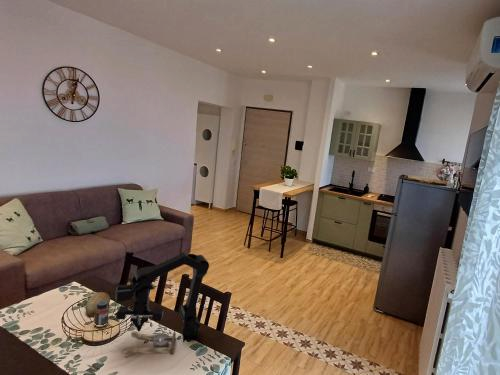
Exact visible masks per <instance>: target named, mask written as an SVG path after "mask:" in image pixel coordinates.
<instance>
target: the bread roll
mask: <svg viewBox="0 0 500 375" xmlns="http://www.w3.org/2000/svg"><path fill="white" fill-rule="evenodd" d="M99 301H106V302H107V305H108V306H109V304H110V301H111V297H110V295H109V294H108V293H107V292H103V291H102V292H101V291H99V292H96V293H93V295H91V296H90V298H89V299H88V300H87V302H86V304H85V313H86V314H87V315H88V316H89V317H93V316H94V317H95V307H96V306H97V303H98V302H99Z"/></svg>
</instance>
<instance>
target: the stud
mask: <svg viewBox="0 0 500 375" xmlns="http://www.w3.org/2000/svg"><path fill="white" fill-rule="evenodd" d="M154 335H155V336H154V337H153V340H152V343H153V345H154V348H163V347H167V345H168V344H169V342H170V341H169V336H170V335H169V334H167V333H164V332H160V333H157V334H154Z"/></svg>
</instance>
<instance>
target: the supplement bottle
mask: <svg viewBox="0 0 500 375" xmlns="http://www.w3.org/2000/svg"><path fill="white" fill-rule="evenodd" d="M109 310H110V308H109V304H108V305H107V302H106V301H99V302H98V303H97V306H96V307H95V316H94V320H93V323H95V324H96V325H104V324H106V323H108V324H109V312H110V311H109Z"/></svg>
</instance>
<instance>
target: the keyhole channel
mask: <svg viewBox="0 0 500 375" xmlns="http://www.w3.org/2000/svg"><path fill="white" fill-rule="evenodd" d="M130 332H131V333H130V336H131V337H134V338H137V339H140V340H150V341H153V337H154V336H155V335H156V334H149V333H140V332H139V331H136V330H132V331H130ZM176 335H177V333H176V332H173V333H172V335H168V336H169V342H171V343H170V347H167V346H166V347H163V348H155V347H135V348H131V349H127V350H125V351H123V352H124V353H123V355H124V357H129V356H132V355H137V354H170V355H173V354H174V351H175V350H174V349H175V343H176Z"/></svg>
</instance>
